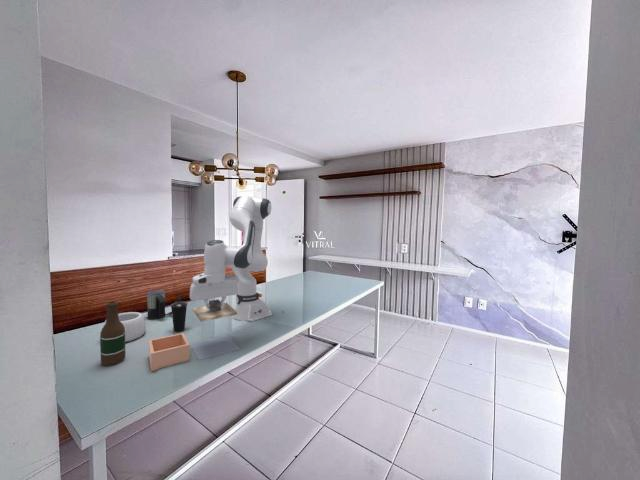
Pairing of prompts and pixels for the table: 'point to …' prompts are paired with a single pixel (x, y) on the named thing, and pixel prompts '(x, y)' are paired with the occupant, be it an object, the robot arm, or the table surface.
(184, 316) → the drinking cup
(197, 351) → the slate mat
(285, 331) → the table surface
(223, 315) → the birch lid
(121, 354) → the beer bottle
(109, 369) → the table surface
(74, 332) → the table surface
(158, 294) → the milk frother
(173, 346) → the open square planter box
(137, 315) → the mug
